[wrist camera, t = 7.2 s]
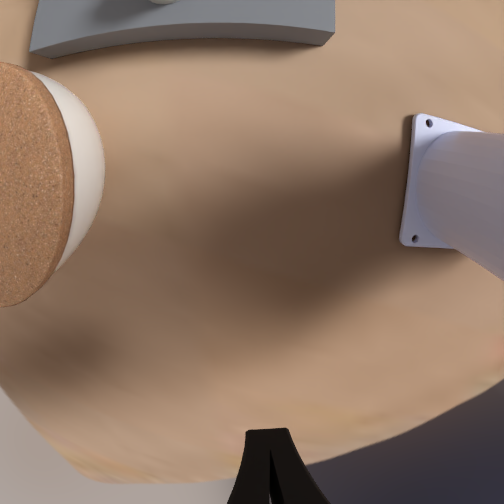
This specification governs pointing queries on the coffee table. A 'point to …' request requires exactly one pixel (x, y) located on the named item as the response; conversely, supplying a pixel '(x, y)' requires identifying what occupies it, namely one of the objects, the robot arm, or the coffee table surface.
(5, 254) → the lidded jar
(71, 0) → the mount plate
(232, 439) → the coffee table surface
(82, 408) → the coffee table surface
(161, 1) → the potentiometer
